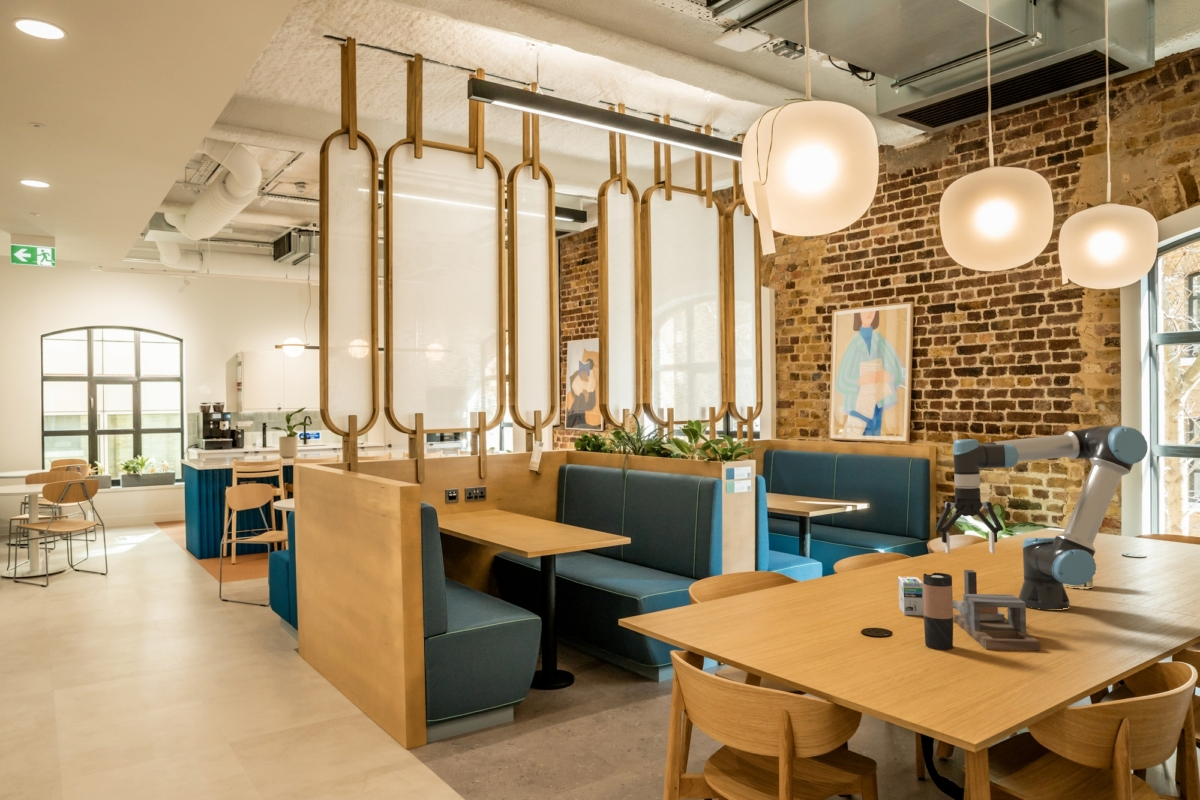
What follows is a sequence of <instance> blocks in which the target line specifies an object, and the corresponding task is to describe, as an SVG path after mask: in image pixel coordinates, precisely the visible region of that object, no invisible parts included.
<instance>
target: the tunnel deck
mask: <svg viewBox="0 0 1200 800" xmlns="http://www.w3.org/2000/svg"><path fill="white" fill-rule="evenodd" d="M962 595H963V596H962V598H963V599H962V601H963V604H964V615H962V614H961V613H953V623H954V624H956V623H957V624H958V625H959V626H958V625H957V624H956V625H957V626H958V627H959V628H961V629H962V630H963V629H964V630H965V631H966V632H967V633H966V632H965V631H964V630H963V631H964V632H965V633H966V634H967V635H969V637H971V636H972V637H973V638H974V639H973V638H972V637H971V638H972V639H973V640H974V641H976V642H977V643H978V642H979V643H978V644H979V645H980V644H981V645H980V646H981V647H983V649H985V650H992V649H994V650H996V651H997V650H998V651H999V650H1000V651H1026V650H1040V651H1041V643H1040V640H1038V639H1036V638H1035V637H1034V636H1032V635H1030V634H1029V633H1028V632H1027V614H1026V612H1027V607H1026V603H1025V602H1024V601H1022V600H1020V599H1019V597H1017V596H1016V595H1014V594H994V593H993V594H991V593H990V594H988V593H986V594H983V593H982V594H981V593H977V594H965V593H963V594H962ZM980 607H998V608H1007V617H1005V616H1004V621H980Z"/></svg>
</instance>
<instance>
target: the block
mask: <svg viewBox="0 0 1200 800" xmlns="http://www.w3.org/2000/svg"><path fill="white" fill-rule="evenodd" d="M998 610H999V607H980V613H998ZM980 621H984V620H980Z"/></svg>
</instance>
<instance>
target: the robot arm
mask: <svg viewBox="0 0 1200 800" xmlns="http://www.w3.org/2000/svg"><path fill="white" fill-rule="evenodd" d="M1148 447H1149V446H1148V442H1147V440H1146V438H1145V436H1144V435H1143V433H1142V432H1141V431H1140V430H1138V429H1136V428H1135V427H1134V428H1133V427H1131V426H1125V425H1117V426H1115V425H1114V426H1113V425H1112V426H1110V425H1109V426H1108V425H1107V426H1106V425H1105V426H1104V425H1099V426H1098V425H1097V426H1092V427H1087V428H1081V429H1075V430H1068V431H1065V432H1064V433H1063V434H1059V435H1048V436H1047V435H1046V436H1040V437H1039V436H1038V437H1029V438H1020V439H1019V438H1018V439H1009V440H1000V441H991V442H988V441H987V442H979V440H978V439H976V438H974V439H969V438H967V439H963V438H962V439H955V440H954V441H953V447H952V449H953V451H952V455H953V472H954V473H953V474H954V486H955V487H954V502H949V501H945V502H944V507H943V511H942V512H941V514H940V516H939V518H938V521H937V522H936V524H935V526H934V529H935V530H936V531H938V532H940V533H941V542H942V543H943V544H944V551H945V553H946V554H951V544H950V542H951V540H950V532H948V531H949V530H950V529H951V528H952V526H954V524H955V523H956V522H957V521H958V520H959V518H961V516H963V517H969V516H970V517H975V516H977V517H978V518H979V520H981V521H982V522H983V524H984V525H985V526H986V527H988V529H989V532H988V548H989V549H988V550H989V551H988V553H991V554H995V553H996V551H995V549H996V547H995V543H996V544H997V542H998V533H999V532H1000V531H1001V532H1002V531H1004V527H1003V525H1002V524H1001V522H1000V520H999V518H998V516H997V514H996V513H995V511H994V509H993V504H992V502H991V501H985V502H982V501H981V500H982V499H981V488H980V486H981V479H980V478H981V477H980V474H981V473H980V471H981V470H980V469H1000V468H1001V469H1002V468H1003V469H1008V468H1014V467H1016V466H1017V464H1018V462H1027V461H1028V462H1029V461H1036V460H1037V461H1038V460H1039V461H1040V460H1047V459H1057V458H1058V459H1059V458H1068V459H1069V460H1078V459H1079V460H1080V459H1081V460H1088V461H1089V462H1090V464H1091V468H1090V470H1089V473H1088V475H1087V477H1086V480H1085V482H1084V484H1083V486H1082V489H1081V491H1080V494H1079V496H1078V498H1077V501H1076V503H1075V505H1074V508H1073V510H1072V512H1071V515H1070V517H1069V519H1068V521H1067V524H1066V526H1065V527H1064V531H1063V532H1062V533H1058V534H1056V535H1055V537H1026V538H1025V539H1024V540H1023V543H1022V558H1023V559H1022V560H1023V582H1022V585H1021V587H1020V588H1021V589H1020V592H1019V594H1018V598H1019V599H1020V600H1022V601H1024V602H1025V603H1026V606H1027V607H1026V608H1029V607H1032V608H1031V609H1033V608H1040V609H1063V608H1068V607H1069V606H1070V607H1071V604H1070V599H1069V596H1068V594H1067V591H1066V588H1065V587H1064V585H1063V584H1069V585H1081V584H1084V583H1086V582H1088V581H1089V580H1090V579H1091V578H1092V577H1093V578H1094V575H1095V573H1096V571H1097V563H1096V561H1095V559H1094V555H1095V554H1096V548H1095V547H1094V541H1095V540H1096V537H1097V535H1098V532H1099V530H1100V527H1101V526H1102V523H1103V521H1104V519H1105V517H1106V514H1107V511H1108V509H1109V506H1110V504H1111V502H1112V500H1113V498H1114V495H1115V493H1116V491H1117V489H1118V486H1119V483H1121V482H1120V481H1121V479H1122V477H1123V476H1125V475H1128V474H1130V472H1131V470H1132V469H1133V465H1134V464H1138V463H1139V462H1141V461H1142V460H1144V459H1145V457H1146V455H1147V453H1148ZM953 507H954V508H955V511H954V513H953V514H952V516H951V517H950V518H949V519H948V520H947V518H948V516H949V514H950V511H951V510H952V509H953ZM982 508H983V509H985V510H986V512H987V513H988V515H989V517H990V519H991V520H992V522H990V520H989V519H988V518H986V516H985V515H984V514H983V513H982V512H981V509H982ZM946 520H947V521H946ZM945 522H946V523H945ZM1040 609H1039V610H1040Z"/></svg>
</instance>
